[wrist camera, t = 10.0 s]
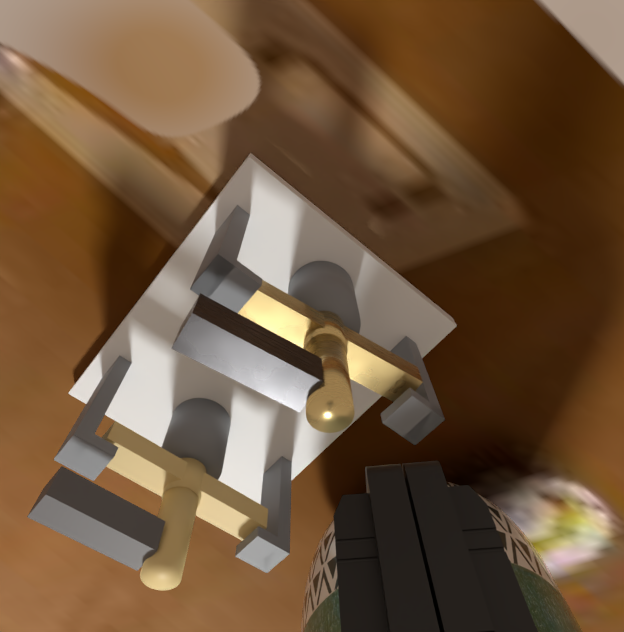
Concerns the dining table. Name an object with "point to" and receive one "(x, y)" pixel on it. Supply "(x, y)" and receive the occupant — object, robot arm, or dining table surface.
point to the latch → (293, 355)
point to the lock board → (227, 386)
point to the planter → (529, 568)
